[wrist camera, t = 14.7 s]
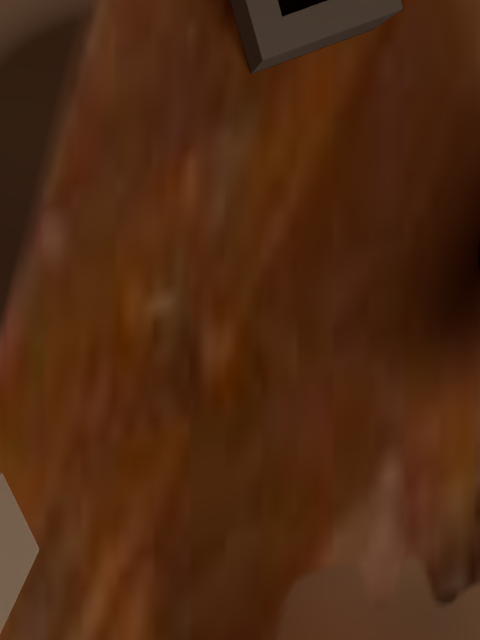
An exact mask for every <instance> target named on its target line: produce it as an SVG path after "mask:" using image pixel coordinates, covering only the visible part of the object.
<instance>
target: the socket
mask: <svg viewBox="0 0 480 640" xmlns="http://www.w3.org/2000/svg"><path fill="white" fill-rule="evenodd" d="M230 2H231V5H232V9H233V12H234V16H235V19H236V22H237V26H238V29H239V33H240V36H241V40H242V43H243V46H244V50H245V53H246V57H247V60H248V64H249V67H250V70H251V74H252V73H255V72H258V71H260V70H263V69H266V68H268V67H271V66H274V65H277V64H279V63H282V62H285V61H288V60H290V59H293V58H296V57H299V56H301V55H304V54H307V53H310V52H312V51H315V50H318V49H321V48H323V47H326V46H329V45H332V44H334V43H337V42H340V41H343V40H345V39H348V38H351V37H354V36H356V35H359V34H362V33H365V32H367V31H370V30H373V29H374V28H376V27H377V26H379V25H380V24H382V23H383V22H385V21H386V20H388V19H389V18H391V17H392V16H394V15H395V14H397V13H398V12H400V11H401V10H403V7H402V1H401V0H327V1H324V2H321V3H319V4H316V5H313V6H310V7H308V8H305V9H302V10H299V11H297V12H294V13H291V14H288V15H286V16H283V17H282V14H281V10H280V7H279V3H278V0H230Z"/></svg>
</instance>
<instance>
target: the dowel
mask: <svg viewBox="0 0 480 640" xmlns="http://www.w3.org/2000/svg"><path fill="white" fill-rule="evenodd" d="M313 1H314V0H278V3H279V6H280V7H281V8H283V9H285V10H287V11H299V10H302V9H304V8H306V7H308V6H309V5H310V4H311V3H312V2H313Z"/></svg>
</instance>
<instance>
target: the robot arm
mask: <svg viewBox="0 0 480 640" xmlns="http://www.w3.org/2000/svg"><path fill="white" fill-rule="evenodd" d="M479 266H480V247H479ZM39 550H40V549H39V547H38V545H37V543H36V541H35V539H34V537H33V535H32V533H31V531H30V529H29V527H28V525H27V523H26V521H25V519H24V516H23V514H22V512H21V510H20V508H19V506H18V504H17V502H16V500H15V498H14V496H13V494H12V492H11V490H10V488H9V486H8V484H7V482H6V480H5V478H4V476H3V474H2V473H0V633H1V631H2V629H3V627H4V625H5V622H6V620H7V618H8V616H9V614H10V612H11V610H12V607H13V605H14V603H15V601H16V599H17V597H18V595H19V592H20V590H21V588H22V586H23V584H24V582H25V580H26V577H27V575H28V573H29V571H30V569H31V567H32V565H33V562H34V560H35V558H36V556H37V554H38V552H39Z"/></svg>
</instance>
